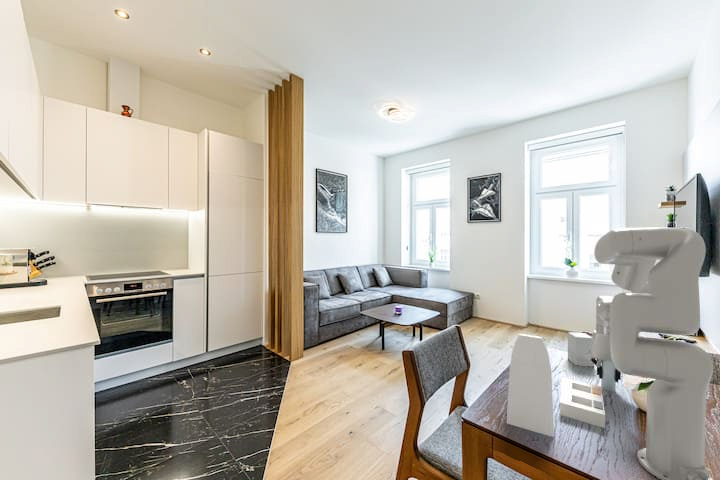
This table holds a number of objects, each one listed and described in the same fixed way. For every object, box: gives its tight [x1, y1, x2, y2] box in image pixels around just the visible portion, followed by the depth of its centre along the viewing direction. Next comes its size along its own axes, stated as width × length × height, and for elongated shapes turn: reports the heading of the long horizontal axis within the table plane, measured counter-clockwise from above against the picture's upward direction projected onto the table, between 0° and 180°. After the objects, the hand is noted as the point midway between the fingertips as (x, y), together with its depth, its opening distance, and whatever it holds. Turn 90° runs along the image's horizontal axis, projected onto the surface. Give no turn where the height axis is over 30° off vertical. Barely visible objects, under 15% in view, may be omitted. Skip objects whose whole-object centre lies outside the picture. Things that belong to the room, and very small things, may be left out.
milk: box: [506, 333, 555, 438], centre depth 90 cm, size 12×12×26 cm
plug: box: [600, 360, 617, 393], centre depth 108 cm, size 4×4×12 cm
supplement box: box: [567, 331, 595, 367], centre depth 130 cm, size 7×7×13 cm
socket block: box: [559, 377, 606, 429], centre depth 97 cm, size 20×11×4 cm, turn 143°
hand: (608, 378), depth 108 cm, fingers closed on plug, 4 cm apart
